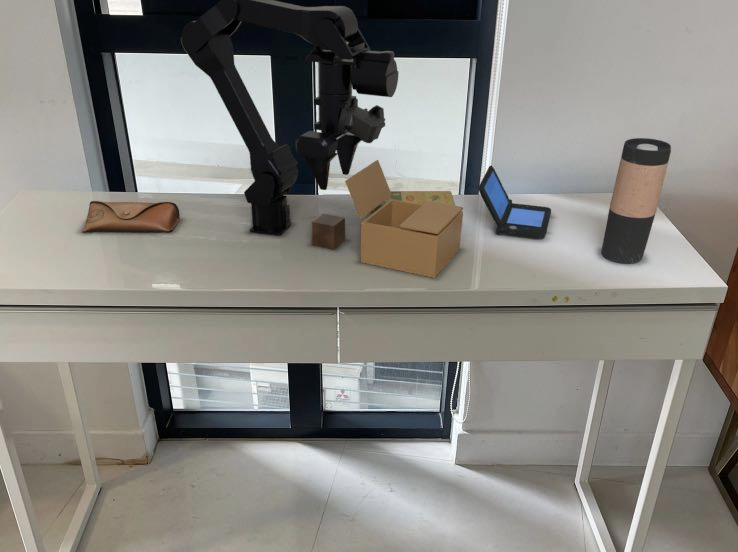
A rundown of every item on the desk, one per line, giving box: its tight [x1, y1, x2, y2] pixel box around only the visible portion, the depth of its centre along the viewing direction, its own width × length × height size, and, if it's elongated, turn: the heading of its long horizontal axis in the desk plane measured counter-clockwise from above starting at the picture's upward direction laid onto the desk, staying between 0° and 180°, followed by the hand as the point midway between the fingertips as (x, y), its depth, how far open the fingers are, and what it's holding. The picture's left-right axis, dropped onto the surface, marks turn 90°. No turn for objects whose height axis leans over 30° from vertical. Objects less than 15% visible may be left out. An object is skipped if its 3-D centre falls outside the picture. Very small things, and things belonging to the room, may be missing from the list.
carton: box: [372, 190, 456, 214], centre depth 145 cm, size 8×16×4 cm, turn 88°
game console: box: [478, 165, 552, 240], centre depth 141 cm, size 16×14×9 cm
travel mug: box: [601, 137, 672, 265], centre depth 125 cm, size 8×8×20 cm
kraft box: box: [360, 199, 464, 279], centre depth 128 cm, size 14×13×8 cm
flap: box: [344, 159, 392, 220], centre depth 127 cm, size 7×13×1 cm
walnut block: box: [311, 213, 346, 250], centre depth 134 cm, size 5×5×5 cm
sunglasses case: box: [81, 200, 180, 234], centre depth 142 cm, size 18×7×7 cm, turn 90°
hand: (334, 181), depth 130 cm, fingers open, 9 cm apart
